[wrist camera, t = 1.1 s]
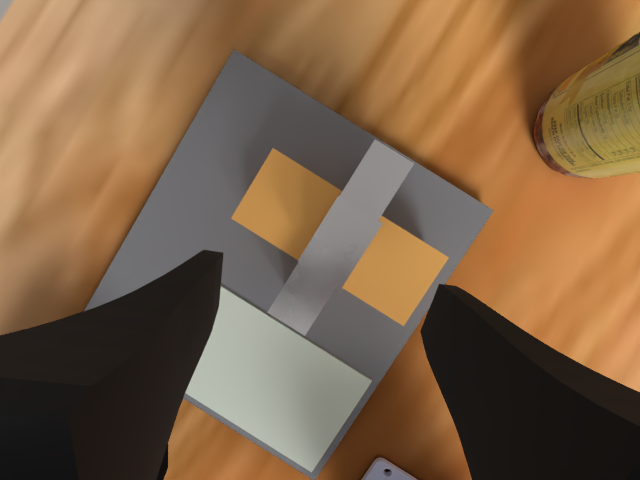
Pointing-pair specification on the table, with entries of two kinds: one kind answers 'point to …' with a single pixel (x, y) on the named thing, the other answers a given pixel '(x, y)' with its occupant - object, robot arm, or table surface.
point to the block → (305, 218)
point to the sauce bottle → (595, 117)
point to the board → (280, 265)
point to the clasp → (341, 237)
